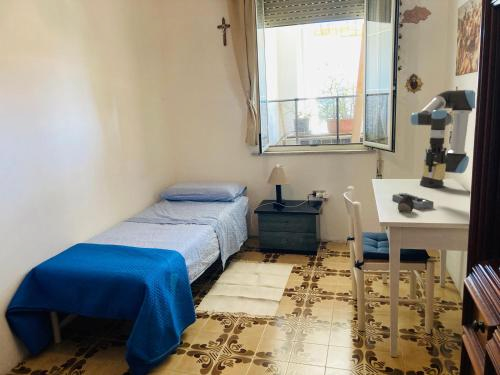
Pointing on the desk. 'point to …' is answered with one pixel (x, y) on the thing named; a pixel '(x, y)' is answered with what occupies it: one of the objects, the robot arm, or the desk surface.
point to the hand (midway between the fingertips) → (433, 177)
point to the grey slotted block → (418, 202)
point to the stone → (406, 204)
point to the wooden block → (436, 170)
